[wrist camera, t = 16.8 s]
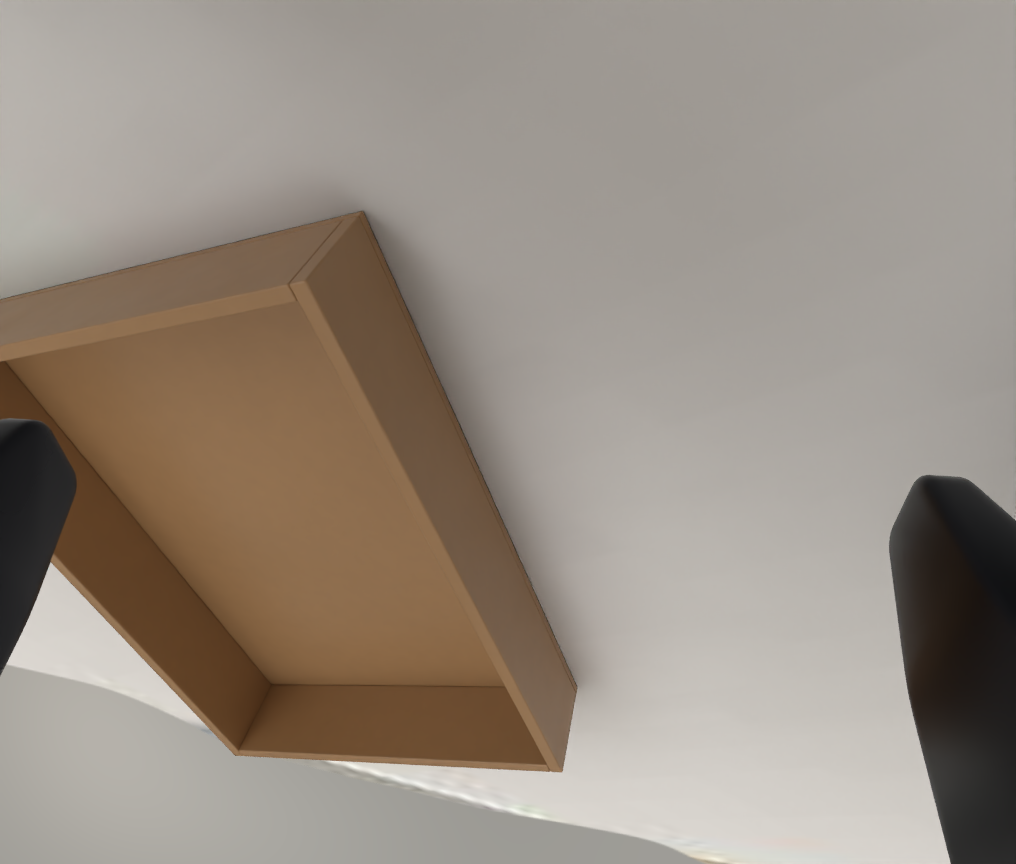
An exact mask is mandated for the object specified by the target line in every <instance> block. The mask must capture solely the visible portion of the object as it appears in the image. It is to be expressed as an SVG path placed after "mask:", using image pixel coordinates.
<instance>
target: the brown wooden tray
mask: <svg viewBox="0 0 1016 864" xmlns="http://www.w3.org/2000/svg"><path fill="white" fill-rule="evenodd" d="M8 418H13V419H30V420H38V421H42V422H43V423H45V424H46V425H48V426H49V428H50V429H51V430H52V432H53V434H54V435H55V437H56V439H57V441H58V443H59V444H60V446H61V448H62V450H63V451H64V453H65V455H66V457H67V458H68V460H69V462H70V464H71V466H72V467H73V469H74V471H75V474H76V478H77V488H76V494H75V497H74V500H73V503H72V505H71V508H70V511H69V513H68V516H67V519H66V521H65V524H64V527H63V529H62V532H61V535H60V537H59V540H58V543H57V546H56V548H55V551H54V554H53V556H52V559H51V563H52V564H53V565H54V566H55V567H56V568H57V569H58V570H59V571H60V572H61V573H62V574H63V575H64V576H65V577H66V578H67V580H68V581H69V582H70V583H71V584H72V585H73V586H74V587H75V588H76V589H77V590H78V591H79V592H80V593H81V594H82V595H83V596H84V597H85V598H86V599H87V601H88V602H89V603H90V604H91V605H92V606H93V607H94V608H95V609H96V610H97V611H98V612H99V613H100V614H101V615H102V616H103V617H104V618H105V619H106V621H107V622H108V623H109V624H110V625H111V626H112V627H113V628H114V629H115V630H116V631H117V632H118V633H119V634H120V635H121V636H122V637H123V638H124V639H125V640H126V642H127V643H128V644H129V645H130V646H131V647H132V648H133V649H134V650H135V651H136V652H137V653H138V654H139V655H140V656H141V657H142V658H143V659H144V660H145V661H146V663H147V664H148V665H149V666H150V667H151V668H152V669H153V670H154V671H155V672H156V673H157V674H158V675H159V676H160V677H161V678H162V679H163V680H164V681H165V683H166V684H167V685H168V686H169V687H170V688H171V689H172V690H173V691H174V692H175V693H176V694H177V695H178V696H179V697H180V698H181V699H182V700H183V701H184V702H185V704H186V705H187V706H188V707H189V708H190V709H191V710H192V711H193V712H194V713H195V714H196V715H197V716H198V717H199V718H200V719H201V720H202V721H203V722H204V723H205V725H206V726H207V727H208V728H209V729H210V730H211V731H212V732H213V733H214V734H215V735H216V736H217V737H218V738H219V739H220V740H221V741H222V742H223V743H224V744H225V746H226V747H227V748H229V750H230V751H231V752H232V753H233V754H234V755H235V756H254V757H273V758H292V759H312V760H331V761H351V762H370V763H390V764H409V765H429V766H448V767H468V768H487V769H507V770H526V771H546V772H550V771H551V772H562V771H563V766H564V760H565V755H566V749H567V743H568V737H569V731H570V726H571V720H572V714H573V708H574V702H575V697H576V692H577V686H576V684H575V682H574V679H573V677H572V675H571V673H570V671H569V668H568V666H567V664H566V662H565V659H564V657H563V655H562V653H561V651H560V648H559V646H558V644H557V642H556V639H555V637H554V635H553V633H552V630H551V628H550V626H549V624H548V622H547V619H546V617H545V615H544V613H543V610H542V608H541V606H540V604H539V602H538V599H537V597H536V595H535V593H534V590H533V588H532V586H531V584H530V582H529V579H528V577H527V575H526V573H525V570H524V568H523V566H522V564H521V562H520V559H519V557H518V555H517V553H516V550H515V548H514V546H513V544H512V542H511V539H510V537H509V535H508V533H507V530H506V528H505V526H504V524H503V522H502V519H501V517H500V515H499V513H498V510H497V508H496V506H495V504H494V502H493V499H492V497H491V495H490V493H489V490H488V488H487V486H486V484H485V482H484V479H483V477H482V475H481V473H480V470H479V468H478V466H477V464H476V462H475V459H474V457H473V455H472V453H471V450H470V448H469V446H468V444H467V442H466V439H465V437H464V435H463V433H462V430H461V428H460V426H459V424H458V421H457V419H456V417H455V415H454V413H453V410H452V408H451V406H450V404H449V401H448V399H447V397H446V395H445V393H444V390H443V388H442V386H441V384H440V381H439V379H438V377H437V375H436V373H435V370H434V368H433V366H432V364H431V361H430V359H429V357H428V355H427V353H426V350H425V348H424V346H423V344H422V341H421V339H420V337H419V335H418V333H417V330H416V328H415V326H414V324H413V321H412V319H411V317H410V315H409V313H408V310H407V308H406V306H405V304H404V301H403V299H402V297H401V295H400V293H399V290H398V288H397V286H396V284H395V281H394V279H393V277H392V275H391V273H390V270H389V268H388V266H387V264H386V261H385V259H384V257H383V255H382V253H381V250H380V248H379V246H378V244H377V241H376V239H375V237H374V235H373V233H372V230H371V228H370V226H369V224H368V221H367V219H366V217H365V215H364V212H363V211H361V212H357V213H353V214H348V215H344V216H340V217H336V218H332V219H328V220H324V221H320V222H316V223H312V224H308V225H303V226H299V227H295V228H291V229H287V230H283V231H279V232H275V233H271V234H267V235H263V236H258V237H254V238H250V239H246V240H242V241H238V242H234V243H230V244H226V245H222V246H218V247H213V248H209V249H205V250H201V251H197V252H193V253H189V254H185V255H181V256H177V257H173V258H168V259H164V260H160V261H156V262H152V263H148V264H144V265H140V266H136V267H132V268H128V269H123V270H119V271H115V272H111V273H107V274H103V275H99V276H95V277H91V278H87V279H83V280H78V281H74V282H70V283H66V284H62V285H58V286H54V287H50V288H46V289H42V290H38V291H33V292H29V293H25V294H21V295H17V296H13V297H9V298H5V299H1V300H0V420H2V419H8Z"/></svg>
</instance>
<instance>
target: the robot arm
mask: <svg viewBox="0 0 1016 864" xmlns="http://www.w3.org/2000/svg"><path fill="white" fill-rule="evenodd" d="M76 488H77V478H76V474H75V471H74V469H73V467H72V466H71V464H70V462H69V460H68V458H67V457H66V455H65V453H64V451H63V450H62V448H61V446H60V444H59V443H58V441H57V439H56V437H55V435H54V434H53V432H52V430H51V429H50V428H49V426H48V425H46V424H45V423H43V422H42V421H38V420H30V419H13V418H8V419H2V420H0V675H1V673H2V671H3V669H4V667H5V665H6V663H7V661H8V659H9V657H10V655H11V653H12V651H13V649H14V647H15V645H16V643H17V641H18V639H19V637H20V635H21V633H22V631H23V629H24V627H25V625H26V622H27V620H28V618H29V616H30V613H31V611H32V609H33V606H34V604H35V601H36V599H37V596H38V594H39V591H40V588H41V586H42V583H43V580H44V578H45V575H46V572H47V570H48V567H49V564H50V562H51V559H52V556H53V554H54V551H55V548H56V546H57V543H58V540H59V537H60V535H61V532H62V529H63V527H64V524H65V521H66V519H67V516H68V513H69V511H70V508H71V505H72V503H73V500H74V497H75V494H76ZM889 553H890V561H891V569H892V577H893V584H894V592H895V600H896V608H897V615H898V623H899V631H900V639H901V646H902V654H903V662H904V670H905V676H906V682H907V689H908V694H909V699H910V703H911V708H912V712H913V717H914V721H915V725H916V728H917V732H918V736H919V740H920V744H921V748H922V752H923V756H924V760H925V764H926V768H927V772H928V776H929V779H930V783H931V787H932V791H933V795H934V799H935V803H936V807H937V811H938V815H939V819H940V823H941V827H942V831H943V834H944V838H945V842H946V846H947V850H948V854H949V858H950V862H951V864H1016V520H1014V519H1013V518H1012V517H1011V516H1010V515H1009V514H1008V513H1007V512H1005V511H1004V510H1003V509H1002V508H1001V507H1000V506H999V505H997V504H996V503H995V502H994V501H993V500H992V499H991V498H989V497H988V496H987V495H986V494H985V493H984V492H983V491H982V490H980V489H979V488H978V487H977V486H976V485H975V484H973V483H972V482H971V481H969V480H967V479H965V478H962V477H952V476H936V475H925V476H921V477H919V478H918V479H917V480H916V481H915V482H914V484H913V486H912V488H911V490H910V492H909V494H908V496H907V498H906V500H905V502H904V504H903V506H902V509H901V511H900V513H899V515H898V517H897V519H896V521H895V523H894V525H893V528H892V530H891V534H890V541H889Z"/></svg>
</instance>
